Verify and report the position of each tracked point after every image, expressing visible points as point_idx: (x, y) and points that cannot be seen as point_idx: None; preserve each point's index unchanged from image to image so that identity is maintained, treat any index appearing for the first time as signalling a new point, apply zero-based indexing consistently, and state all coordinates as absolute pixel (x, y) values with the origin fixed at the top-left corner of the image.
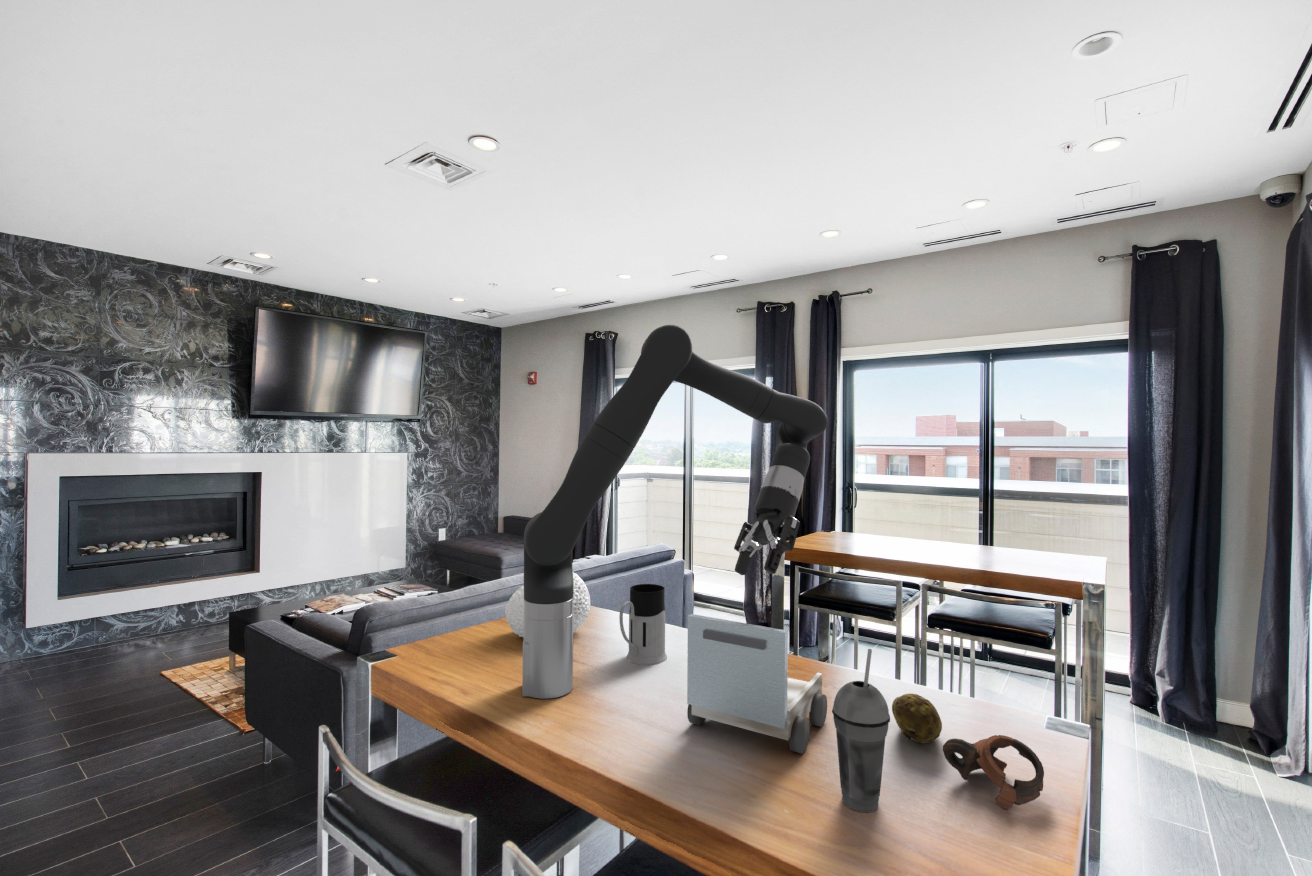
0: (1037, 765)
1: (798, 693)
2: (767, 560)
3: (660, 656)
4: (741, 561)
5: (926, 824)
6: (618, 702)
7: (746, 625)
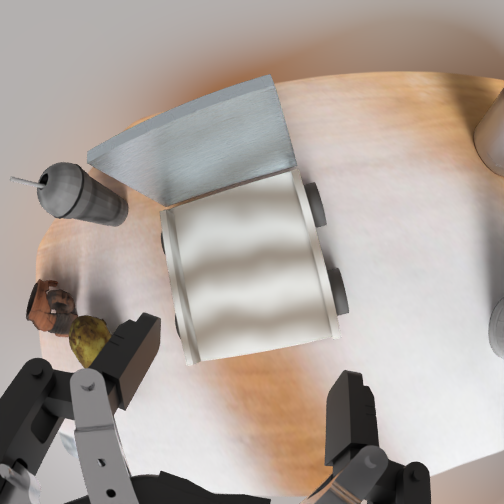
0: (27, 307)
1: (203, 309)
2: (135, 336)
3: (494, 331)
4: (343, 410)
5: (82, 224)
6: (428, 179)
7: (146, 123)
